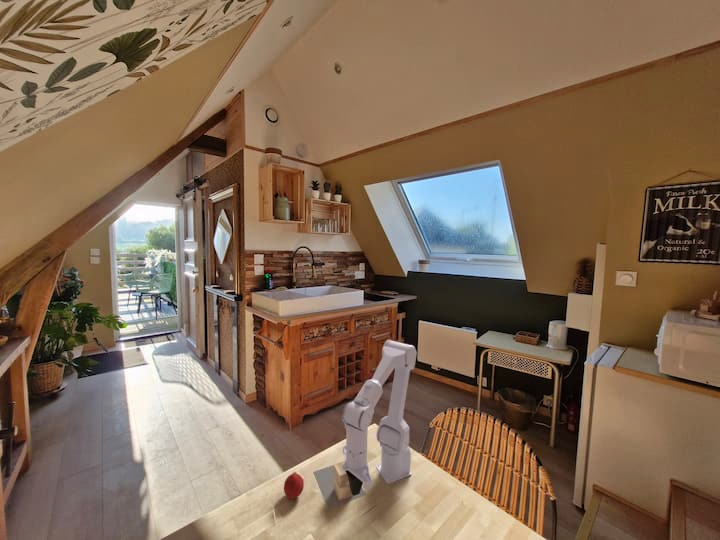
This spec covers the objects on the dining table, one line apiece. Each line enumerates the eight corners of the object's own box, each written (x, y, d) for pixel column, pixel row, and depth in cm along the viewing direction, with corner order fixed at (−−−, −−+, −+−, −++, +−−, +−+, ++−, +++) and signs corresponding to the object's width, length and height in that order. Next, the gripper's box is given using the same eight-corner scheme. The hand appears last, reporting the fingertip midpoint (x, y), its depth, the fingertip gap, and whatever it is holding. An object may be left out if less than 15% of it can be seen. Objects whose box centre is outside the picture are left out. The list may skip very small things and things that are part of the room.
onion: (298, 507, 83) (298, 482, 83) (280, 503, 85) (280, 478, 84) (306, 491, 89) (306, 466, 88) (289, 487, 90) (289, 463, 90)
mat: (346, 461, 101) (346, 460, 101) (366, 495, 88) (366, 494, 88) (313, 472, 96) (313, 471, 96) (328, 510, 83) (328, 509, 83)
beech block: (347, 484, 92) (347, 460, 91) (353, 495, 88) (353, 470, 87) (333, 489, 90) (334, 465, 89) (339, 501, 86) (339, 475, 85)
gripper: (333, 434, 84) (332, 478, 85) (354, 470, 71) (353, 521, 72) (355, 428, 87) (354, 470, 88) (379, 461, 74) (378, 510, 75)
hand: (355, 492), depth 80 cm, fingers closed
